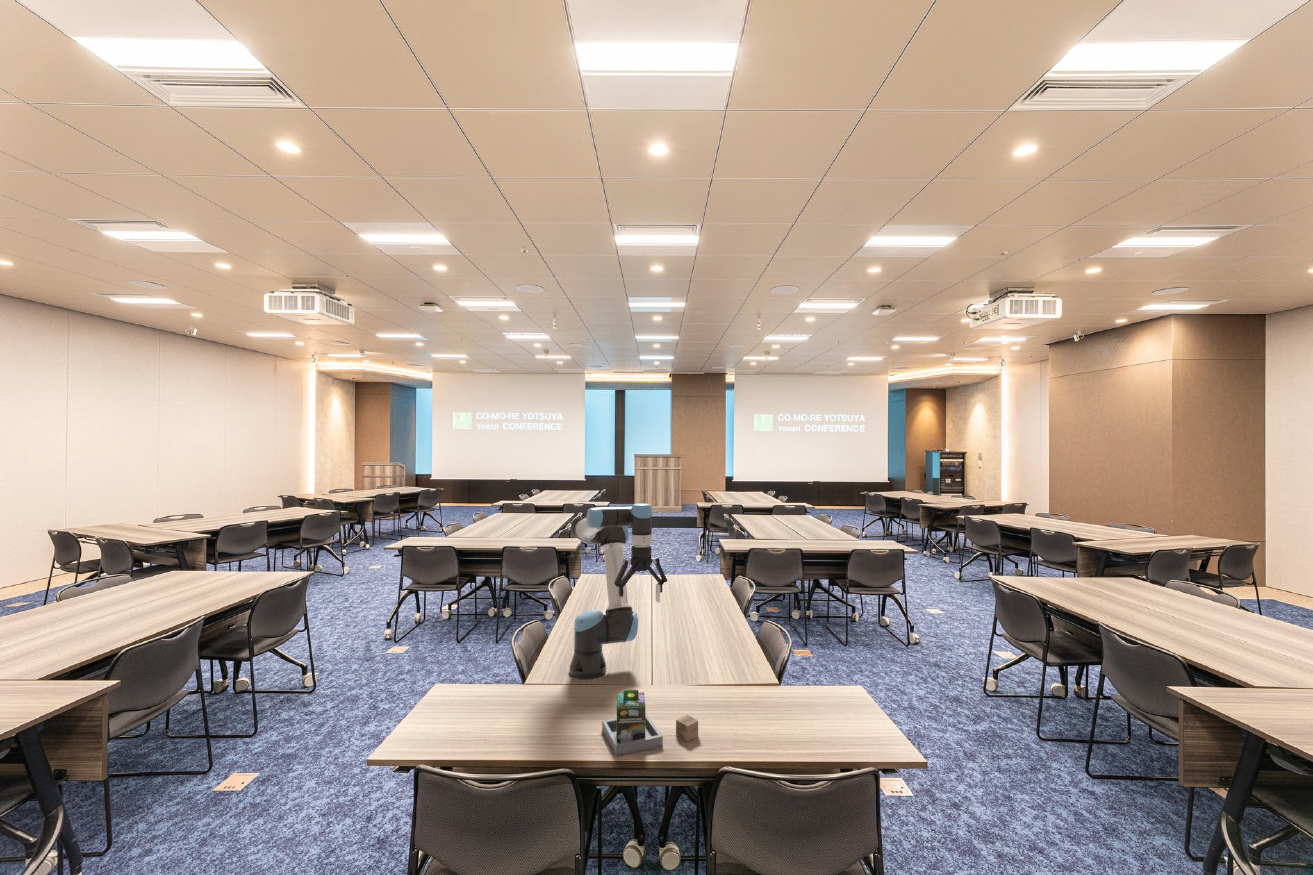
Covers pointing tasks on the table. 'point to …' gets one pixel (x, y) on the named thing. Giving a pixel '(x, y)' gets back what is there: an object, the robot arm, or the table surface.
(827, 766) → the table surface
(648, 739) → the tray
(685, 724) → the walnut block
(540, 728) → the table surface
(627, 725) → the chalk box
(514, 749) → the table surface
